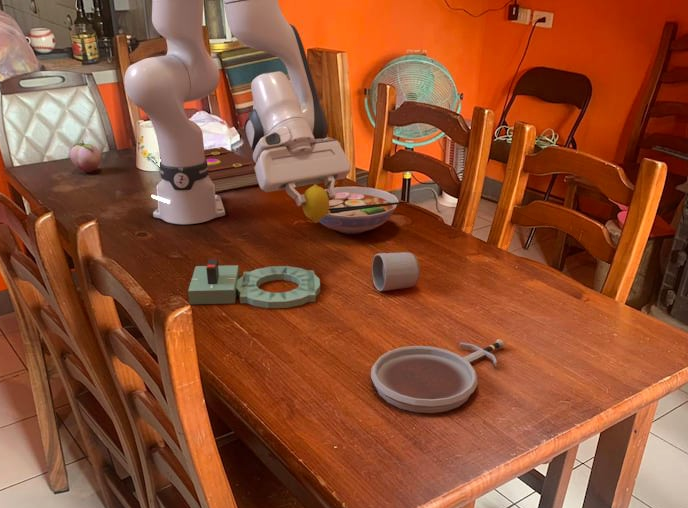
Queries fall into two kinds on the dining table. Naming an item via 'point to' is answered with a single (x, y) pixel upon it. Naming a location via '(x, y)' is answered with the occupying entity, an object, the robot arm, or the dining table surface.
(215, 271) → the hob knob
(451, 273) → the dining table surface
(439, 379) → the frying pan
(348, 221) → the ramen bowl
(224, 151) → the book
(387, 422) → the dining table surface
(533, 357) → the dining table surface
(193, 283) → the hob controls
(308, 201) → the lemon
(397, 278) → the ceramic mug
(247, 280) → the hob
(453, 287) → the dining table surface
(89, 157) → the decorative fruit
